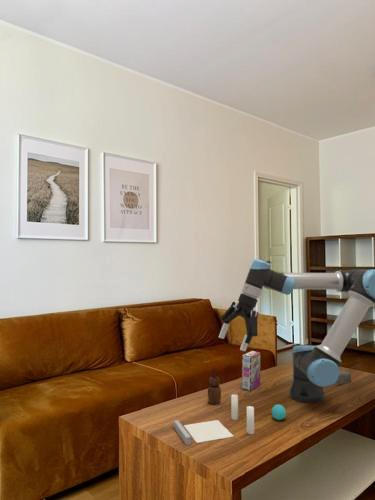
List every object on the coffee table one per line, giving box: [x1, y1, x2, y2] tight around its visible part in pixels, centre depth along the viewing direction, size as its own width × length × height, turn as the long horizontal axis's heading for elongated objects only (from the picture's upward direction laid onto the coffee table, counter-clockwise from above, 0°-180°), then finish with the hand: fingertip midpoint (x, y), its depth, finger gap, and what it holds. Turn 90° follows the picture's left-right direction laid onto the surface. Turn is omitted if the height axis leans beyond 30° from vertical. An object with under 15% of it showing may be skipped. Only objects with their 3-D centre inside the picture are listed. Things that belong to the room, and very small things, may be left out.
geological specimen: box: [332, 368, 352, 386], centre depth 191 cm, size 11×6×15 cm
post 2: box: [246, 405, 255, 435], centre depth 135 cm, size 3×3×9 cm
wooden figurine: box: [207, 366, 222, 405], centre depth 163 cm, size 7×6×15 cm
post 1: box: [230, 393, 239, 421], centre depth 146 cm, size 3×3×9 cm
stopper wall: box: [173, 419, 192, 446], centre depth 133 cm, size 2×14×2 cm, turn 19°
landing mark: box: [183, 419, 235, 444], centre depth 136 cm, size 14×14×1 cm
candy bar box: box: [241, 350, 261, 392], centre depth 183 cm, size 11×5×16 cm, turn 145°
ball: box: [271, 404, 287, 421], centre depth 146 cm, size 6×6×6 cm
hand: (231, 344), depth 154 cm, fingers open, 13 cm apart
